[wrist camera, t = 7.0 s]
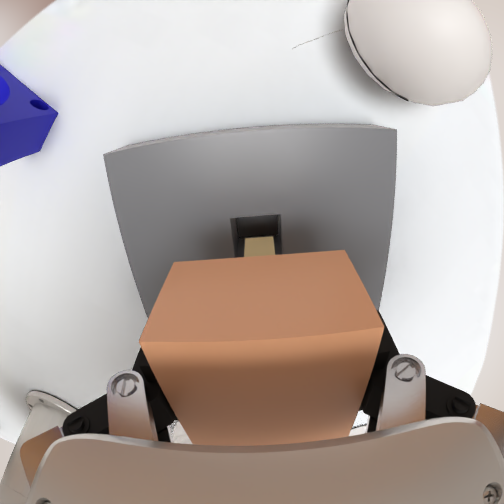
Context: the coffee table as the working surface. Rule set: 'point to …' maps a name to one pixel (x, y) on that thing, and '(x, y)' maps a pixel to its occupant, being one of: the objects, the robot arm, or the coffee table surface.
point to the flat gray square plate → (256, 196)
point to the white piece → (421, 47)
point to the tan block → (263, 346)
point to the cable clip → (21, 119)
